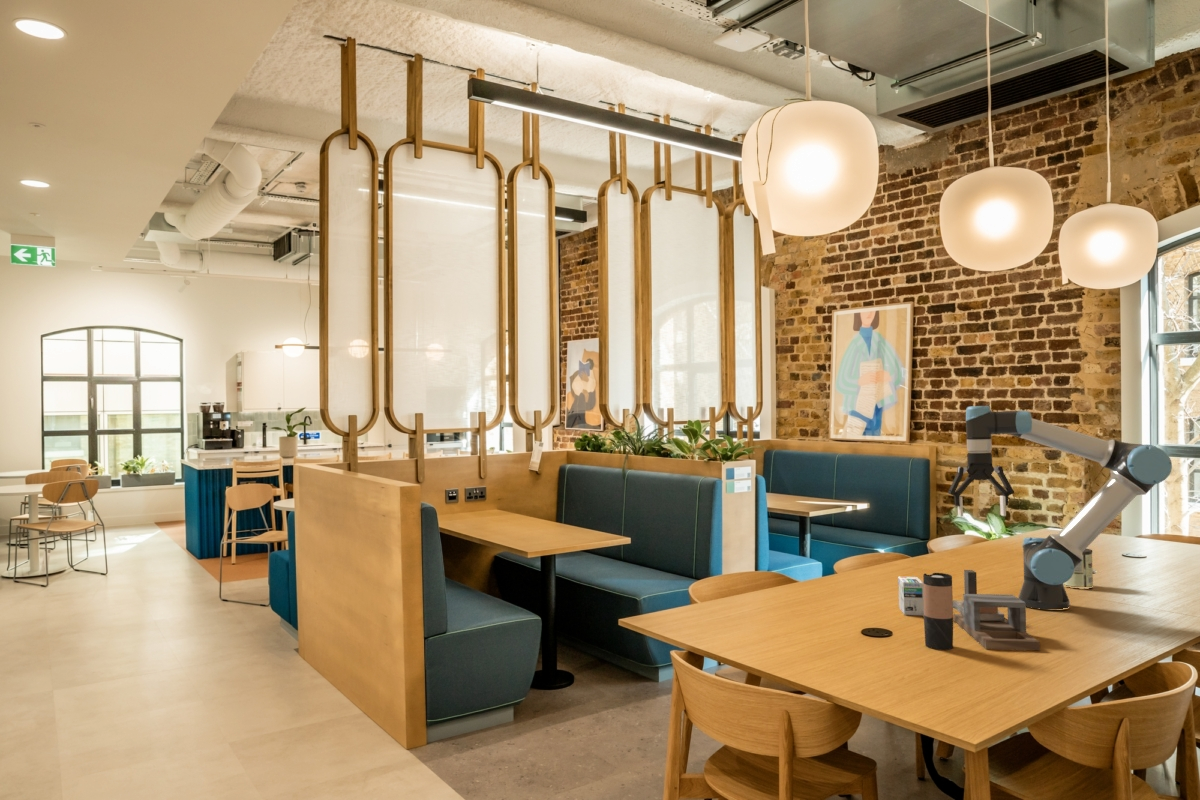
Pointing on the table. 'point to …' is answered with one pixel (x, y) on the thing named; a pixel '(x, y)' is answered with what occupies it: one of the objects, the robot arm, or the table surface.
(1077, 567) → the pale green tower
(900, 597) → the light bulb box
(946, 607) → the travel mug
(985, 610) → the block
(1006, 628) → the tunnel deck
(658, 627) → the table surface
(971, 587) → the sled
